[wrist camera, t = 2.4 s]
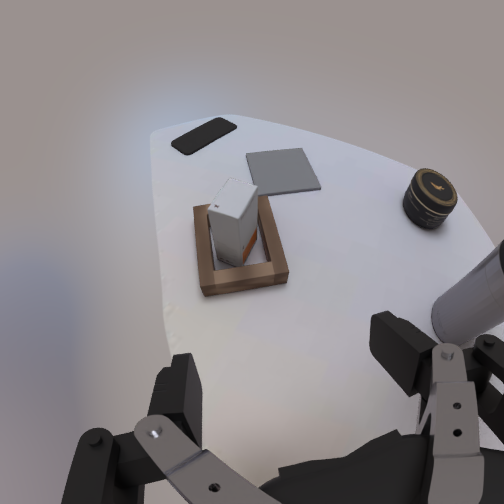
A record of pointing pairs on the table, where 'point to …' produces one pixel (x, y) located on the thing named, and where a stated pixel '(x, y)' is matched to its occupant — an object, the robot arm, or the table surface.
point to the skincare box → (234, 221)
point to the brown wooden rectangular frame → (244, 275)
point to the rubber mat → (282, 172)
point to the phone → (203, 135)
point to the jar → (429, 198)
